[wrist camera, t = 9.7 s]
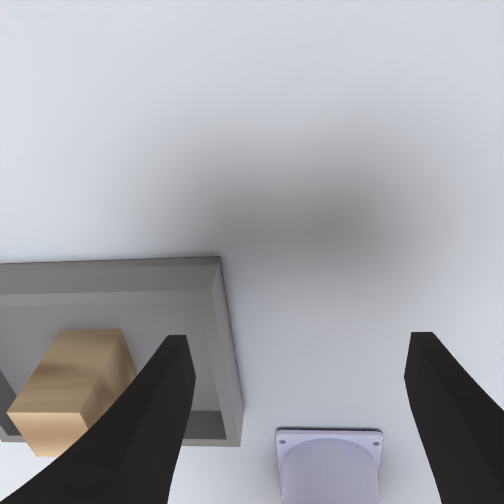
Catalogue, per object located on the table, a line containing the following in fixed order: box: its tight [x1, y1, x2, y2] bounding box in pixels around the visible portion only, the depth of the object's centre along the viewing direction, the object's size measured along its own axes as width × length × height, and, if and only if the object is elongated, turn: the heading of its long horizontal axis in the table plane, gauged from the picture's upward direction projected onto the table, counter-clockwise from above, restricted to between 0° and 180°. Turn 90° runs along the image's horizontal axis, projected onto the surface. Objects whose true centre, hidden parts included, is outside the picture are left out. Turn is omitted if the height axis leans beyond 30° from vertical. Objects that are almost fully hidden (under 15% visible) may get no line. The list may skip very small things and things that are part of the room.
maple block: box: [6, 329, 137, 457], centre depth 24 cm, size 4×4×6 cm
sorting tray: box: [0, 257, 244, 447], centre depth 26 cm, size 14×18×3 cm
